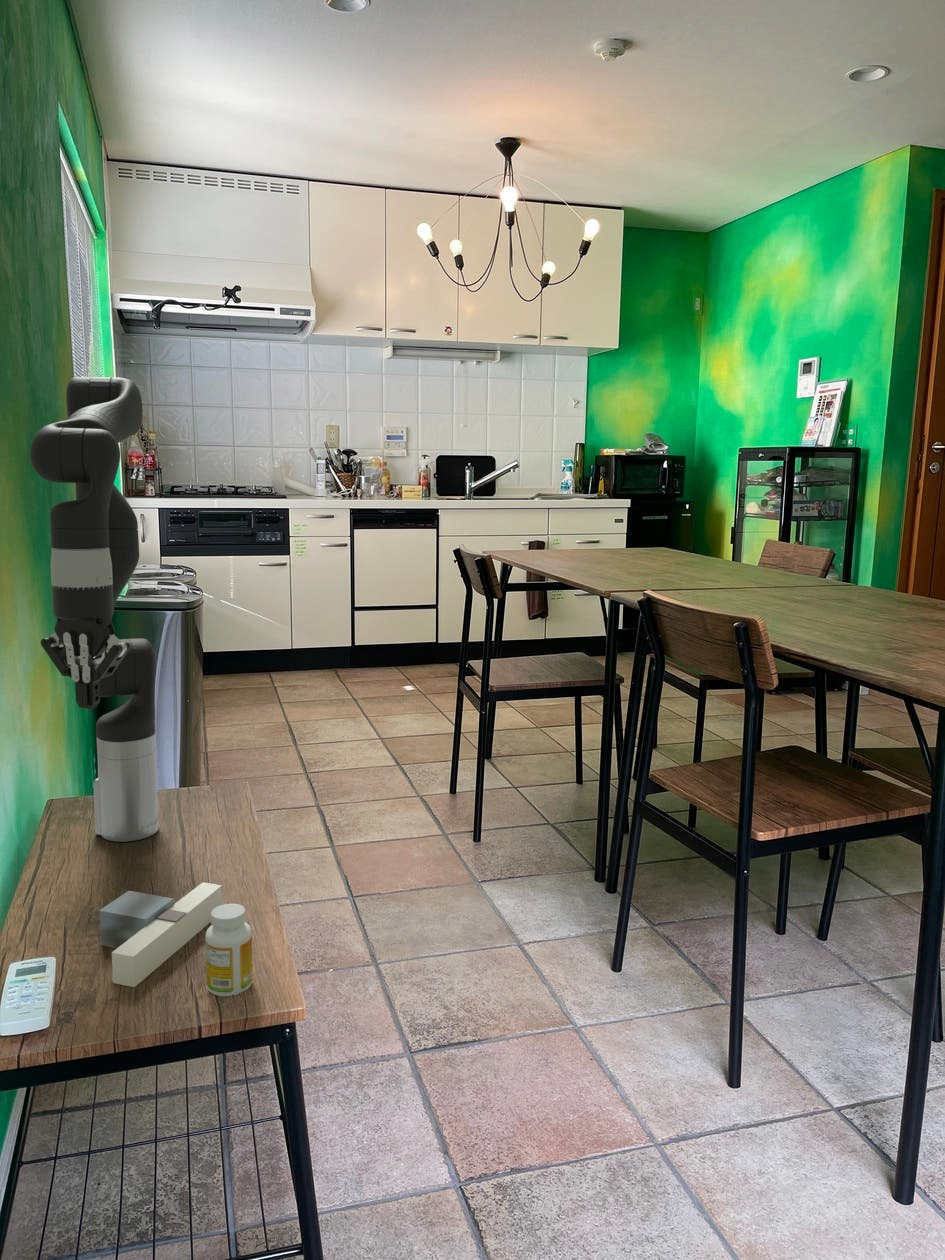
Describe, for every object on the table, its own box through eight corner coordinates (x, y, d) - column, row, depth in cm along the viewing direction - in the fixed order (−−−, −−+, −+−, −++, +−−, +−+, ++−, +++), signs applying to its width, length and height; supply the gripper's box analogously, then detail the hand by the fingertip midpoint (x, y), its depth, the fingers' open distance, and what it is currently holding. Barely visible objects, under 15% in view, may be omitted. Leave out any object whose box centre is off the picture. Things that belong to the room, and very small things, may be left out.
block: (101, 946, 119) (99, 910, 119) (130, 924, 125) (128, 890, 124) (147, 955, 118) (145, 919, 117) (174, 933, 123) (173, 898, 122)
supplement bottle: (244, 968, 115) (242, 896, 113) (258, 989, 110) (257, 915, 109) (201, 980, 112) (199, 906, 110) (214, 1002, 107) (212, 926, 106)
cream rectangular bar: (112, 982, 111) (111, 950, 110) (203, 908, 130) (202, 880, 129) (134, 987, 110) (133, 955, 109) (222, 911, 129) (222, 884, 128)
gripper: (142, 581, 124) (147, 705, 127) (60, 575, 127) (66, 696, 130) (106, 587, 116) (112, 719, 119) (20, 581, 120) (27, 709, 123)
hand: (88, 707), depth 125 cm, fingers closed
